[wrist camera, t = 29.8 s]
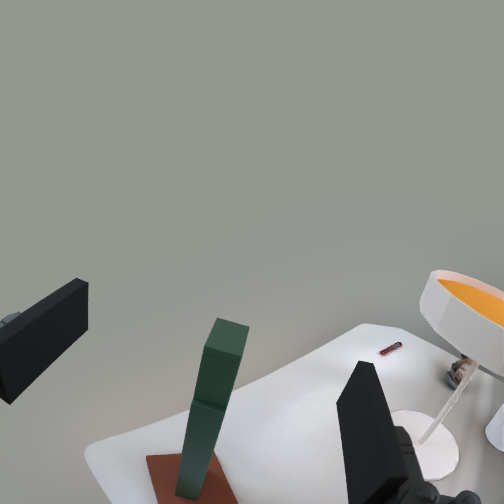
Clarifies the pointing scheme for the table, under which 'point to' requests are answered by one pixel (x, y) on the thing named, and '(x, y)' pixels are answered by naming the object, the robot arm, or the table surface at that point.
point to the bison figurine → (458, 371)
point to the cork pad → (165, 478)
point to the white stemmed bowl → (468, 343)
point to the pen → (390, 348)
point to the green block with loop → (209, 403)
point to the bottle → (496, 430)
